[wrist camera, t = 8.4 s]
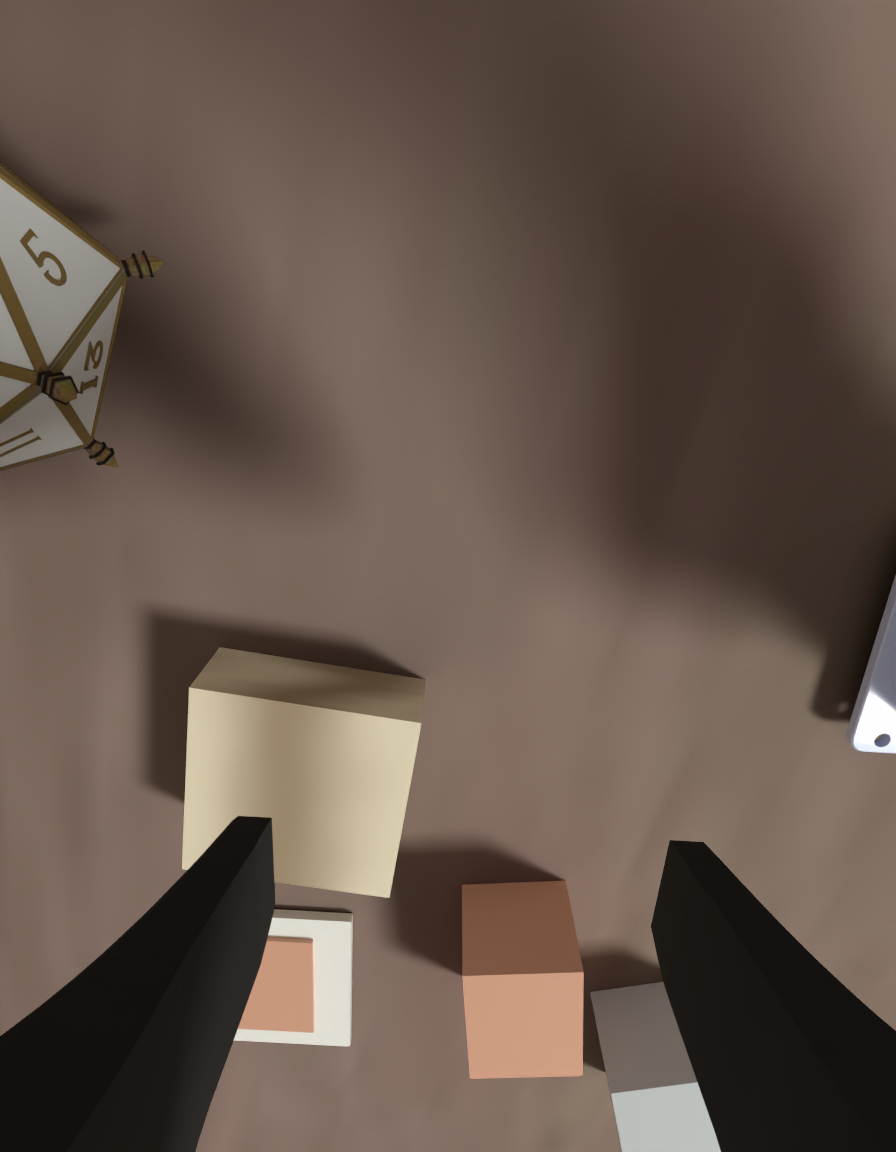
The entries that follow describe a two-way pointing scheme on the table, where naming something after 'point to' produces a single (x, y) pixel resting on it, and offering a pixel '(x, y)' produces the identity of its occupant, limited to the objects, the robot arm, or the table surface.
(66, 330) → the game die
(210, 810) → the maple block
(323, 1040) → the tile
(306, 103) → the table surface
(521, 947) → the terracotta block
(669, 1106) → the grey block
